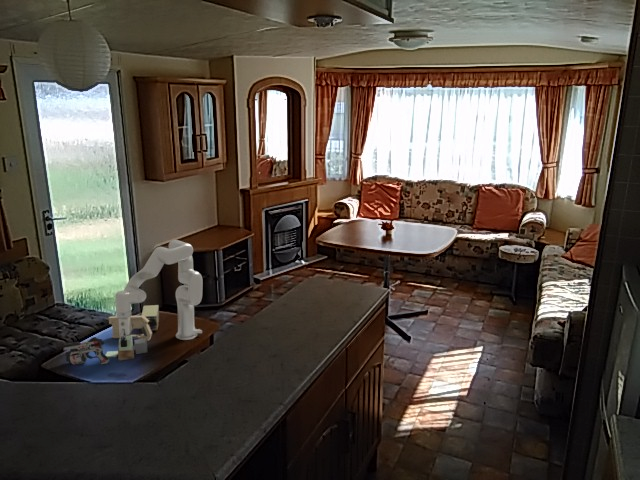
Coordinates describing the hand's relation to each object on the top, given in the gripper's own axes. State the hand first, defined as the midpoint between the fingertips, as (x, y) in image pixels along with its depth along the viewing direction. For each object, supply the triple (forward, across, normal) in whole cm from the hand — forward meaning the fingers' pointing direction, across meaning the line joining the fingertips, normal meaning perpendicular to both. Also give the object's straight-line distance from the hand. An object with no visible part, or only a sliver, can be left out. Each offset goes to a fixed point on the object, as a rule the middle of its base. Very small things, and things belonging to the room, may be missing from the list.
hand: (125, 343), depth 286 cm
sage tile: (+8, +3, +8) cm, 12 cm away
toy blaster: (+8, -6, +19) cm, 22 cm away
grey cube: (+8, +6, -7) cm, 12 cm away
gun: (+8, +24, +1) cm, 25 cm away
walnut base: (+8, 0, 0) cm, 8 cm away
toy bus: (+8, +43, -8) cm, 45 cm away
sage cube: (+3, 0, 0) cm, 3 cm away
